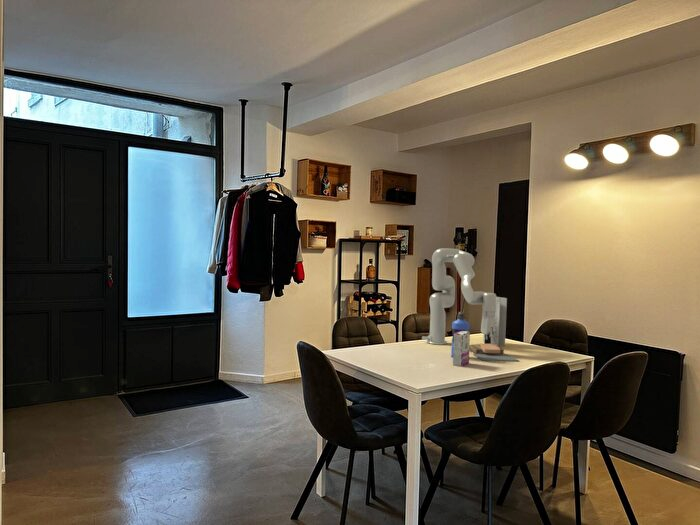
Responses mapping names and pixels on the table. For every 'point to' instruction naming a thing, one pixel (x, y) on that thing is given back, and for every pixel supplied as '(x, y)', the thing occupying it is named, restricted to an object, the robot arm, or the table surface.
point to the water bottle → (459, 327)
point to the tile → (490, 348)
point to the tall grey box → (499, 322)
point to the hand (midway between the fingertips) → (487, 346)
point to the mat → (495, 357)
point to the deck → (477, 350)
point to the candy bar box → (461, 348)
